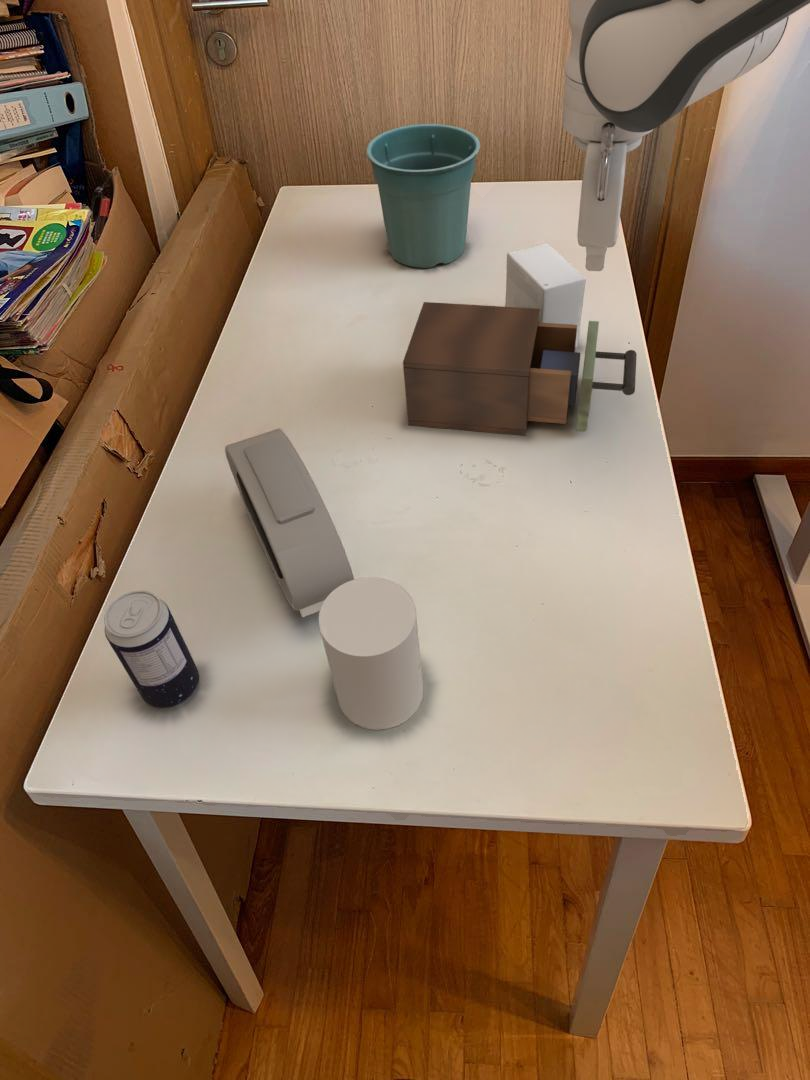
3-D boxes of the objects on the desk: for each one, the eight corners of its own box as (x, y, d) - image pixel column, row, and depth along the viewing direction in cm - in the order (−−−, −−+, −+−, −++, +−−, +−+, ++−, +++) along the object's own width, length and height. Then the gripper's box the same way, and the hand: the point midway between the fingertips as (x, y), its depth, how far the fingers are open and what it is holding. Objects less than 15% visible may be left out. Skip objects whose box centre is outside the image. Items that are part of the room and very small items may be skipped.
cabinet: (536, 372, 107) (540, 308, 100) (525, 435, 99) (528, 371, 92) (427, 364, 110) (423, 301, 103) (408, 425, 102) (402, 361, 95)
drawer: (631, 376, 104) (640, 323, 98) (628, 435, 97) (638, 382, 91) (487, 366, 108) (488, 314, 102) (474, 422, 100) (473, 370, 94)
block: (577, 382, 102) (580, 352, 99) (574, 405, 99) (577, 375, 96) (541, 379, 103) (543, 349, 100) (537, 402, 100) (539, 372, 97)
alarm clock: (238, 497, 96) (212, 412, 86) (288, 479, 97) (267, 394, 88) (304, 644, 81) (281, 562, 72) (362, 621, 83) (346, 537, 73)
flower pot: (444, 213, 138) (440, 113, 126) (500, 254, 128) (502, 149, 116) (358, 244, 133) (346, 142, 121) (409, 288, 123) (402, 182, 111)
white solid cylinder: (441, 686, 77) (436, 610, 68) (381, 746, 73) (367, 674, 64) (379, 640, 81) (367, 562, 72) (319, 694, 77) (298, 619, 68)
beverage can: (210, 667, 80) (176, 591, 71) (187, 717, 77) (148, 645, 68) (157, 658, 81) (117, 582, 72) (132, 707, 78) (87, 634, 69)
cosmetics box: (580, 347, 110) (588, 277, 103) (537, 360, 109) (542, 290, 101) (543, 308, 117) (548, 240, 109) (503, 320, 116) (504, 252, 108)
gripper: (644, 152, 68) (624, 299, 79) (648, 64, 82) (631, 199, 92) (567, 152, 70) (558, 296, 80) (584, 65, 83) (573, 198, 93)
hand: (597, 244), depth 86 cm, fingers open, 8 cm apart
